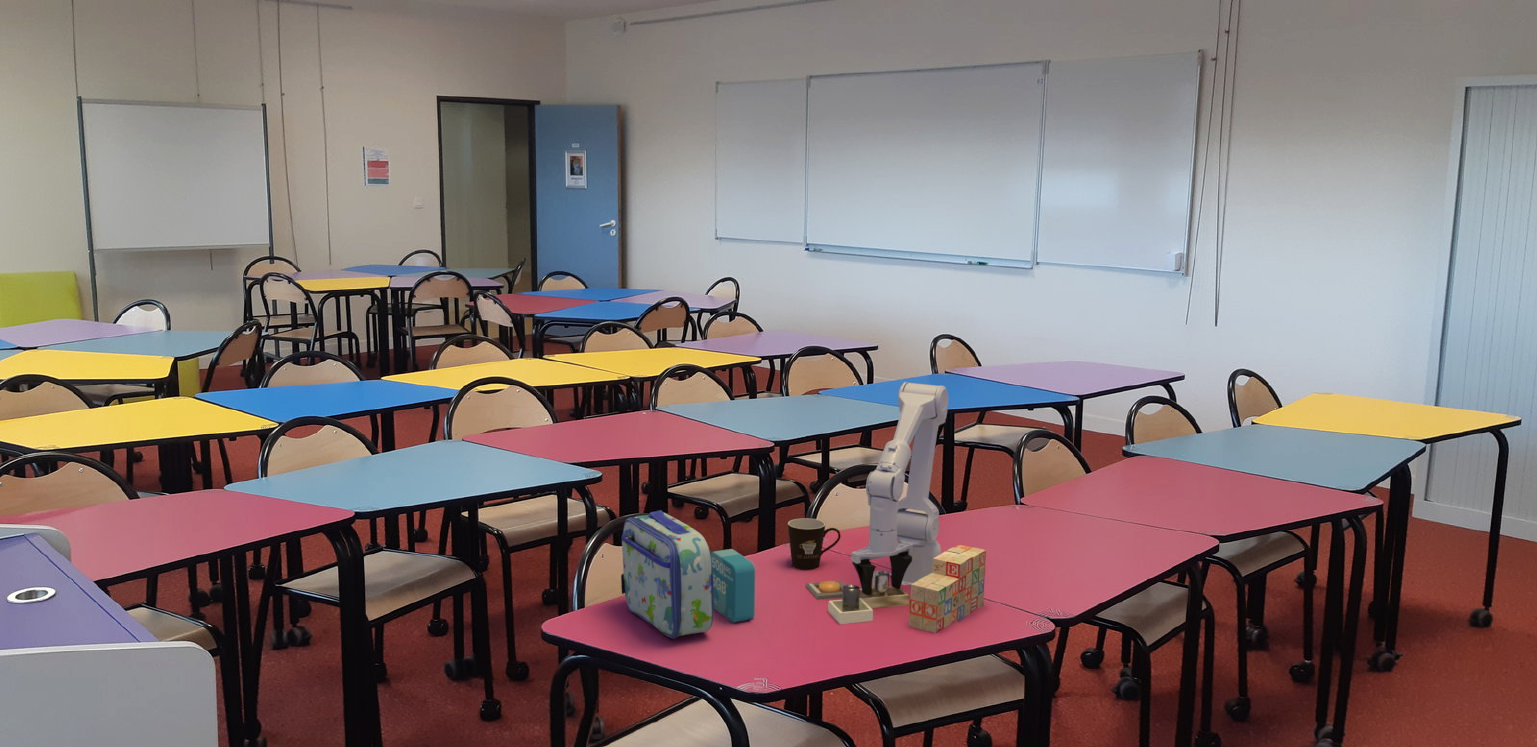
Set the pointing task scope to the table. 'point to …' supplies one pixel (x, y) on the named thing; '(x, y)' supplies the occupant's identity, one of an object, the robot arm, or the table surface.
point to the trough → (886, 598)
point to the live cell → (880, 584)
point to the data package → (733, 585)
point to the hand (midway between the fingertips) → (881, 590)
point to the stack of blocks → (948, 589)
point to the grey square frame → (818, 595)
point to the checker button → (829, 587)
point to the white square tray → (850, 612)
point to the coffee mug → (807, 542)
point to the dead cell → (850, 598)
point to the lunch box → (667, 574)
